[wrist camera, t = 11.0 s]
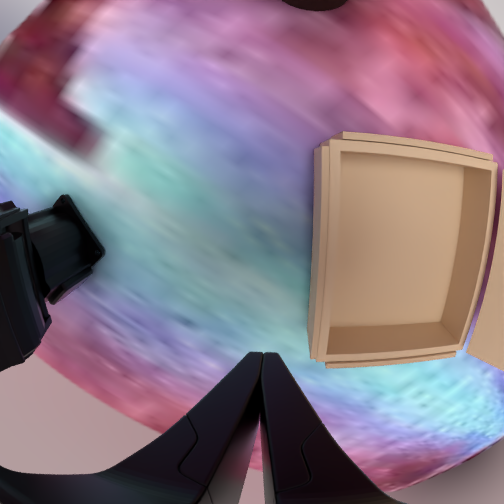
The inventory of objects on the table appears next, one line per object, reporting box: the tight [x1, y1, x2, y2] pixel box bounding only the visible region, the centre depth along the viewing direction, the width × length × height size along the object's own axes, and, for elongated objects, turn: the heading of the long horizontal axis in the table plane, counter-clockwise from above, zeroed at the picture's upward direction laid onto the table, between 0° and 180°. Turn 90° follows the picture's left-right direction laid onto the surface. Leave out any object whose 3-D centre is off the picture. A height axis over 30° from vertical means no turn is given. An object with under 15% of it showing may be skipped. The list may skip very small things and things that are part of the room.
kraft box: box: [307, 132, 498, 368], centre depth 18 cm, size 12×15×4 cm
